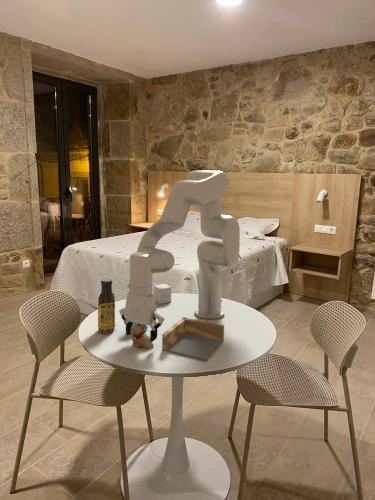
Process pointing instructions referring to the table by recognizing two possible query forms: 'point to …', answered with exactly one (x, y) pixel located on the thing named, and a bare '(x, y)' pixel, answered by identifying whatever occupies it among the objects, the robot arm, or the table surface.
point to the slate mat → (194, 346)
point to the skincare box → (162, 293)
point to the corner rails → (191, 331)
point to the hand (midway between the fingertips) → (141, 336)
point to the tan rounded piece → (140, 337)
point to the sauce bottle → (106, 307)
